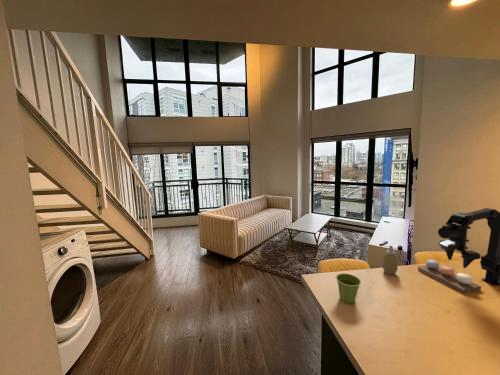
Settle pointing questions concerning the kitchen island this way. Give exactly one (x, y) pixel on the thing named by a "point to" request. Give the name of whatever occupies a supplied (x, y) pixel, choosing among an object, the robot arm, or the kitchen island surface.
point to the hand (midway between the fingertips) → (456, 263)
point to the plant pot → (348, 287)
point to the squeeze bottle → (390, 262)
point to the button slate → (432, 264)
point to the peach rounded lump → (447, 271)
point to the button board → (449, 280)
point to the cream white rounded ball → (464, 278)
